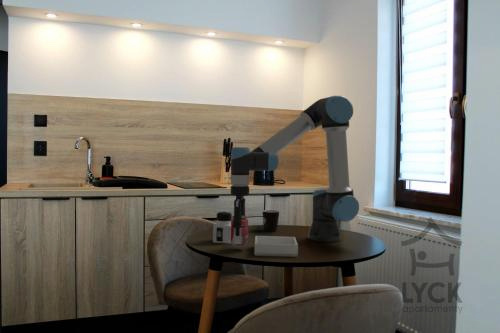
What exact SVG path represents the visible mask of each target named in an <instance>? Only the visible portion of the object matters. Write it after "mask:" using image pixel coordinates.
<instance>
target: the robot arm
mask: <svg viewBox="0 0 500 333" xmlns="http://www.w3.org/2000/svg"><path fill="white" fill-rule="evenodd" d="M353 115H354V107H353V104H352V102H351V101H350V100H349V99H348V98H347V97H346V96H343V95H331V96H329V97H324V98H320V99H318V100H316V101H314V102H313V103H312V104H310V105H309V106H308V107H307V108H306V109H304V110H303V111H301V112H300V114H299V117H297V118H295V120H293V121H292V122H290V123H289V124H288V125H286V126H285V127H283V128H282V129H280V130H279V131H278V132H276V133H275V134H273V135H272V136H270V137H269V138H268V139H266V140H265V141H264V142H262V143H261V144H259V145H258V146H257V147H255V148H254V149H253V150H252V151H251V150H250V147H243V146H242V147H241V146H238V147H237V146H236V147H235V146H234V147H232V148H231V150H230V151H231V153H230V176H229V180H230V185H231V186H230V196H234V197H235V199H234V200H233V201H234V202H233V216H234V225H233V226H232V227H233V228H234V244H241V217H242V215H244V216H246V198H245V197H244V196H249V195H250V186H249V185H250V177H251V176H250V171H251V172H253V171H255V172H257V171H261V172H262V171H263V172H264V171H267V172H270V171H276V170H277V169H278V166H279V156H278V154H279V153H280V152H281V151H283V150H285V148H287V147H289V145H291V144H292V143H294V142H296V141H297V140H298V139H299V138H301V137H302V136H303V135H305V134H306V133H307V132H309V131H314V130H315V129H317V128H319V127H320V126H321V129H322V130H323V131H324V132H325V138H326V139H325V141H326V154H327V168H328V182H329V183H328V185H329V187H328V188H326V189H315V190H314V191H313V193H312V221H311V225H310V228H309V230H308V233H307V237H308V239H309V240H310V241H311V240H312V241H316V242H325V243H326V242H329V243H332V242H339V241H341V240H342V234H341V233H342V232H341V230H340V226H339V222H341V223H348V222H351V221H352V220H354V219H355V218H356V217H357V216H358V214H359V211H360V202H359V201H358V199H357V198H356V196H354V189H353V188H352V186H350V173H349V172H350V171H349V159H348V158H349V156H348V141H347V130H348V129H349V128H350V120H351V119H352V117H353Z"/></svg>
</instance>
